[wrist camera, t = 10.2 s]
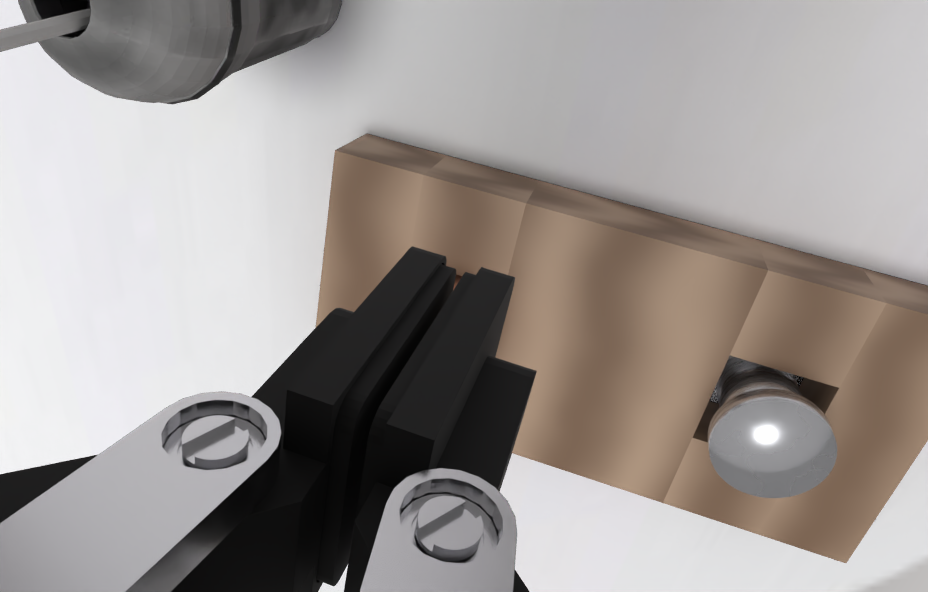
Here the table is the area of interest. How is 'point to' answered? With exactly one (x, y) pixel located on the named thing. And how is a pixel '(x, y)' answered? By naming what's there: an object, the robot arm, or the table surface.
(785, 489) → the grey plunger
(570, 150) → the table surface
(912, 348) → the button board
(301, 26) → the beverage cup
